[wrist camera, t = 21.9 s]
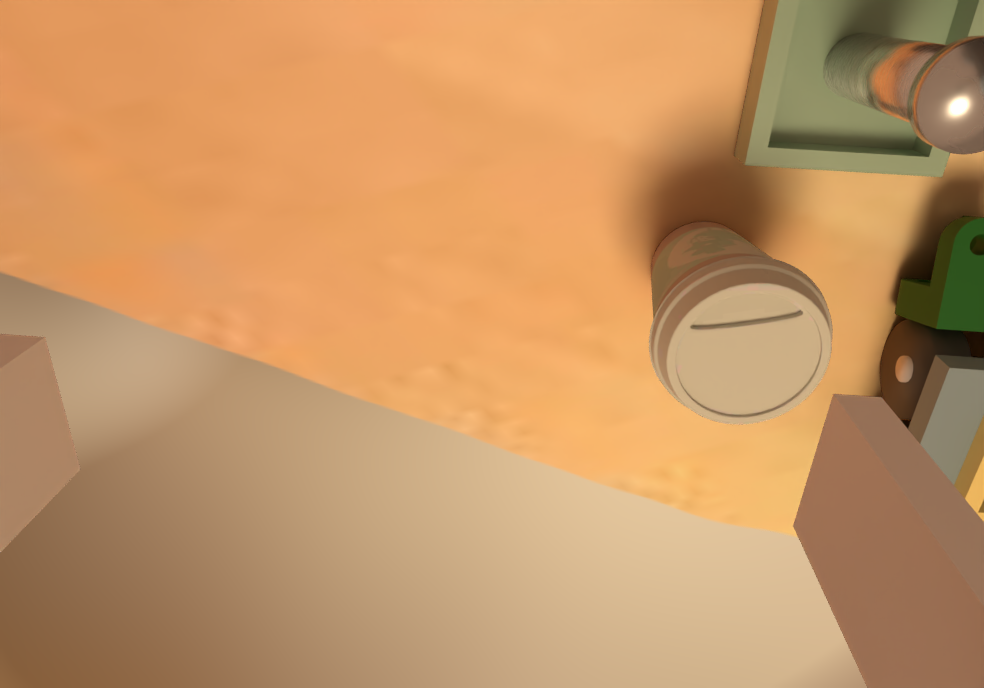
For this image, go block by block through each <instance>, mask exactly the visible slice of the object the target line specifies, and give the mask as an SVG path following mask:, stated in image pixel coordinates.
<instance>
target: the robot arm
mask: <svg viewBox="0 0 984 688" xmlns="http://www.w3.org/2000/svg"><path fill="white" fill-rule="evenodd" d="M79 470H80V466H79V462H78V458H77V455H76V451H75V448H74V443H73V440H72V436H71V432H70V428H69V425H68V421H67V417H66V414H65V410H64V406H63V403H62V399H61V395H60V391H59V387H58V384H57V380H56V376H55V373H54V369H53V365H52V361H51V358H50V354H49V350H48V346H47V343H46V339H45V337H36V336H21V335H8V334H0V552H1V551H2V550H3V549H4V548H5V547H6V546H7V545H8V544H9V543H10V542H11V541H12V540H13V539H14V538H15V537H16V536H17V535H18V534H19V533H20V532H21V531H22V530H23V528H24V527H25V526H26V525H27V524H28V523H29V522H30V521H31V520H32V519H33V518H34V517H35V516H36V515H37V514H38V513H39V512H40V511H41V510H42V509H43V508H44V507H45V506H46V505H47V504H48V502H49V501H50V500H51V499H52V498H53V497H54V496H55V495H56V494H57V493H58V492H59V491H60V490H61V489H62V488H63V487H64V486H65V485H66V484H67V483H68V482H69V481H70V480H71V479H72V478H73V477H74V475H76V474H77V472H78V471H79ZM793 527H794V529H795V531H796V533H797V535H798V538H799V540H800V542H801V544H802V546H803V548H804V551H805V553H806V555H807V557H808V559H809V561H810V564H811V566H812V568H813V570H814V572H815V574H816V577H817V579H818V581H819V583H820V585H821V588H822V590H823V592H824V594H825V596H826V598H827V601H828V603H829V605H830V607H831V609H832V612H833V614H834V616H835V618H836V620H837V622H838V625H839V627H840V629H841V631H842V633H843V636H844V638H845V640H846V642H847V644H848V646H849V649H850V651H851V653H852V655H853V657H854V659H855V662H856V664H857V666H858V668H859V670H860V673H861V675H862V677H863V679H864V681H865V684H866V686H867V688H984V522H983V520H982V519H981V518H980V517H979V516H978V514H977V513H976V512H975V511H974V509H973V508H972V507H971V506H970V505H969V503H968V502H967V501H966V500H965V498H964V497H963V496H962V495H961V494H960V492H959V491H958V490H957V489H956V487H955V486H954V485H953V484H952V483H951V481H950V480H949V479H948V478H947V476H946V475H945V474H944V473H943V472H942V470H941V469H940V468H939V467H938V465H937V464H936V463H935V462H934V461H933V459H932V458H931V457H930V456H929V454H928V453H927V452H926V451H925V450H924V448H923V447H922V446H921V445H920V443H919V442H918V441H917V440H916V439H915V437H914V436H913V435H912V434H911V432H910V431H909V430H908V429H907V428H906V426H905V425H904V424H903V423H902V421H901V420H900V419H899V418H898V417H897V415H896V414H895V413H894V412H893V410H892V409H891V408H890V407H889V406H888V404H887V403H886V402H885V401H884V399H883V398H882V397H870V396H856V395H842V394H833V397H832V400H831V404H830V407H829V410H828V413H827V417H826V420H825V423H824V427H823V430H822V433H821V436H820V440H819V443H818V446H817V450H816V453H815V456H814V459H813V463H812V466H811V469H810V472H809V476H808V479H807V482H806V486H805V489H804V492H803V495H802V499H801V502H800V505H799V509H798V512H797V515H796V518H795V522H794V525H793Z"/></svg>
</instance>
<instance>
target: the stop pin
mask: <svg viewBox="0 0 984 688" xmlns="http://www.w3.org/2000/svg"><path fill="white" fill-rule="evenodd" d="M823 76H824V81H825V83H826V85H827V87H828V88H829V90H830V91H831V92H832V93H834V94H835V95H838V96H840V97H843V98H845V99H848V100H851V101H853V102H856V103H859V104H861V105H864V106H867V107H869V108H872V109H875V110H877V111H880V112H883V113H885V114H888V115H891V116H893V117H896V118H899V119H901V120H904V121H907V122H909V123H910V125H911V127H912V129H913V131H914V132H915V133H916V135H917V136H918V137H919V138H920V139H921V140H922V141H924V142H926V143H927V144H929V145H931V146H934V147H936V148H938V149H941V150H943V151H946V152H949V153H954V154H972V153H977V152H981V151H984V35H978V36H970V37H966V38H962V39H959V40H957V41H954V42H952V43H950V44H948V45H944V44H937V43H930V42H923V41H916V40H910V39H903V38H896V37H889V36H882V35H875V34H868V33H856V34H852V35H849V36H847V37H845V38H843V39H842V40H840V41H839V42H838V43H837V44H836V45H835V46H834V47H833V48H832V49H831V51H830V52H829V54H828V55H827V58H826V60H825V63H824V68H823Z"/></svg>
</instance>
